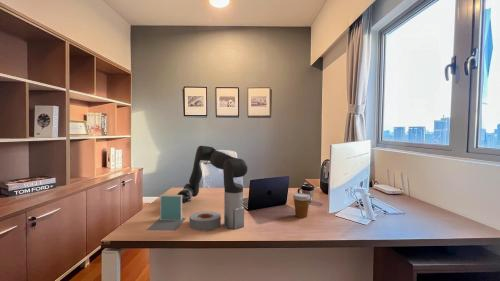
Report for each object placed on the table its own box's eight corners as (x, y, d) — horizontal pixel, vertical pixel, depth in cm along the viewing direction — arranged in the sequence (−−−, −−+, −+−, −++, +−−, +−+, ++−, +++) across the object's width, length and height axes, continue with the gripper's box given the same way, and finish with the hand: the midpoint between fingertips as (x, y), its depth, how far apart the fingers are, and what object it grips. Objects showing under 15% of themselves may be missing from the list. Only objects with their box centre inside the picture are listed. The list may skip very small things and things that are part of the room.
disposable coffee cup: (290, 217, 143) (290, 195, 143) (295, 212, 152) (296, 192, 151) (307, 219, 139) (307, 197, 138) (311, 215, 147) (312, 194, 147)
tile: (182, 219, 136) (182, 194, 136) (181, 220, 135) (181, 195, 134) (161, 219, 137) (161, 194, 136) (160, 220, 135) (160, 195, 134)
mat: (186, 218, 139) (186, 217, 139) (176, 231, 121) (176, 230, 121) (160, 218, 139) (160, 217, 139) (146, 230, 121) (146, 229, 121)
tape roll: (187, 222, 133) (187, 212, 133) (216, 219, 139) (216, 209, 139) (191, 233, 119) (191, 222, 119) (224, 229, 125) (224, 218, 124)
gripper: (174, 189, 161) (164, 196, 144) (195, 189, 161) (188, 196, 144) (174, 201, 161) (164, 209, 144) (195, 201, 161) (187, 209, 144)
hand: (176, 203), depth 144 cm, fingers closed
